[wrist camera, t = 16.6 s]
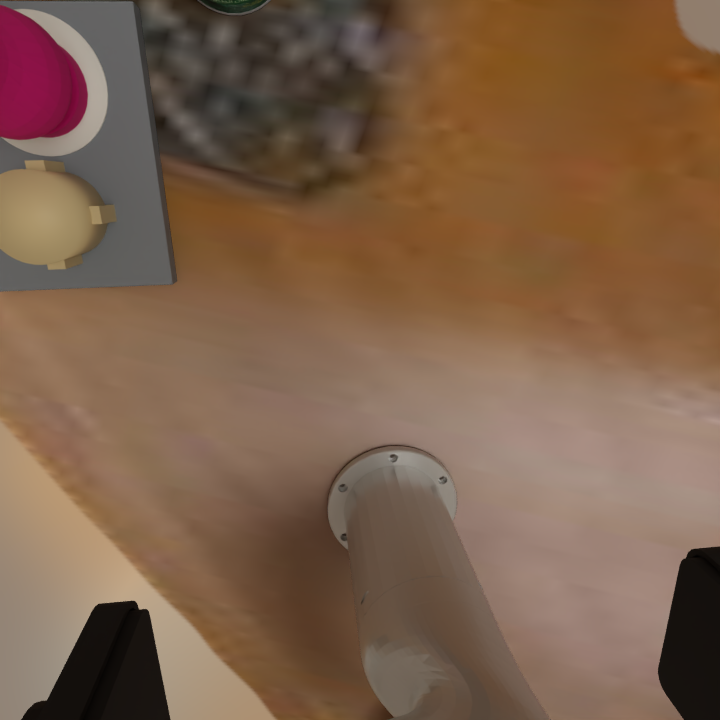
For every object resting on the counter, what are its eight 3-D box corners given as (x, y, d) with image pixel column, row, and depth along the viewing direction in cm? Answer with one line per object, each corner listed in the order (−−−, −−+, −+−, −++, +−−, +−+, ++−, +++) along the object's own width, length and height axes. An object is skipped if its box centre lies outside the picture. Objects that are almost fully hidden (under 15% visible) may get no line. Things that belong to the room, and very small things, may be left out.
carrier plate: (177, 281, 42) (155, 297, 36) (-5, 288, 41) (-60, 306, 35) (139, 8, 36) (105, -28, 30) (-76, 7, 35) (-158, -31, 29)
